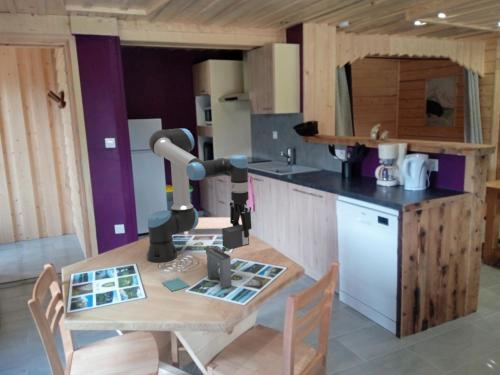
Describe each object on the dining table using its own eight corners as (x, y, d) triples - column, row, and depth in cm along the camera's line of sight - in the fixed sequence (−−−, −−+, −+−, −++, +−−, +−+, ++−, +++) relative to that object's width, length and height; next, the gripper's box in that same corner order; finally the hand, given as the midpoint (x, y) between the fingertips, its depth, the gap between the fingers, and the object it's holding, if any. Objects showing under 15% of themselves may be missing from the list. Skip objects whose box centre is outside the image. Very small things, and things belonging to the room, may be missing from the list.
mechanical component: (225, 268, 194) (224, 248, 193) (204, 267, 197) (203, 247, 195) (227, 266, 197) (226, 246, 195) (206, 265, 199) (205, 245, 198)
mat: (161, 283, 180) (161, 282, 180) (178, 278, 185) (178, 277, 185) (172, 291, 171) (172, 290, 171) (189, 286, 176) (189, 285, 176)
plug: (222, 245, 182) (222, 228, 180) (244, 240, 188) (243, 223, 187) (229, 249, 177) (229, 231, 175) (251, 244, 183) (251, 226, 182)
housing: (208, 278, 184) (206, 249, 181) (215, 275, 186) (214, 247, 184) (223, 288, 173) (222, 258, 170) (231, 285, 175) (230, 256, 173)
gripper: (221, 188, 185) (222, 238, 189) (244, 196, 169) (246, 249, 174) (235, 186, 189) (236, 235, 193) (259, 193, 173) (260, 246, 178)
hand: (241, 241), depth 184 cm, fingers closed on plug, 6 cm apart
